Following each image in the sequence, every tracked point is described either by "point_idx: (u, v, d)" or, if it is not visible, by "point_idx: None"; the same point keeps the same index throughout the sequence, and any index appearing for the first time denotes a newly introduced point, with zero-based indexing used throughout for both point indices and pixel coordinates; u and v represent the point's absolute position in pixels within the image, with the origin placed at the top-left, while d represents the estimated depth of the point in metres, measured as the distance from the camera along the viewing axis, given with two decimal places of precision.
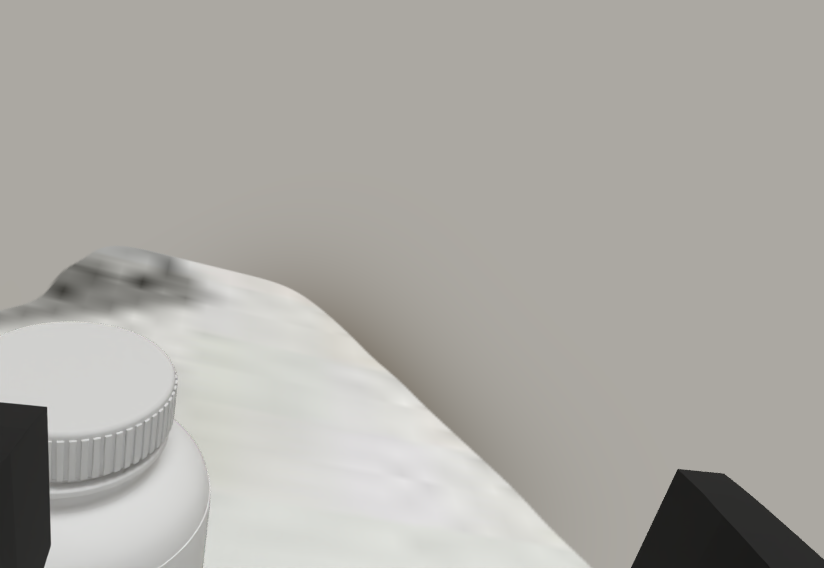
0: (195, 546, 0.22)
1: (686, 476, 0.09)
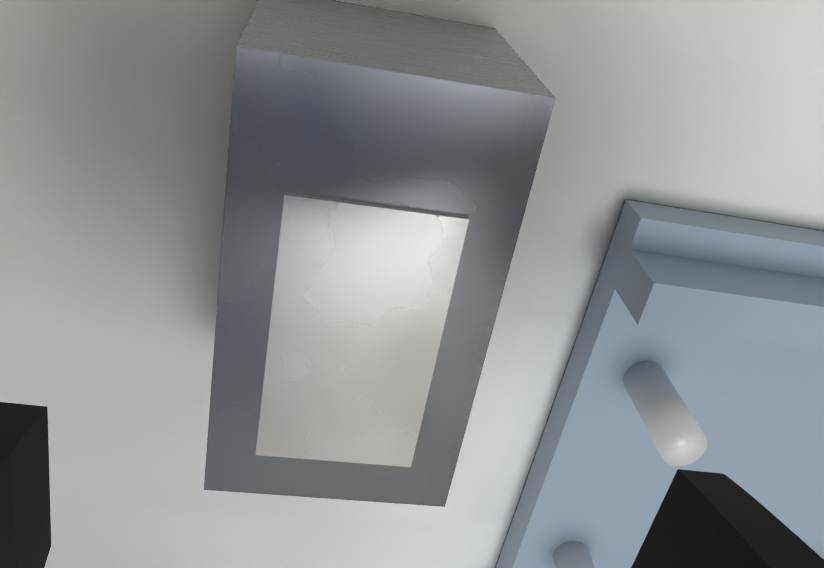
0: None
1: (686, 476, 0.09)
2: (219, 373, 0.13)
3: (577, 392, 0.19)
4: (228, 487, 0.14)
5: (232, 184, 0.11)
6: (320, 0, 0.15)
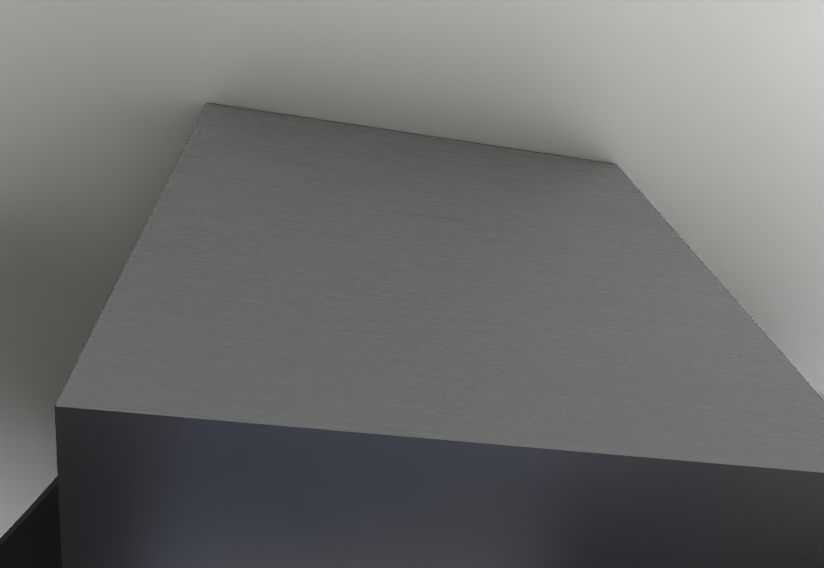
0: None
1: None
2: None
3: None
4: None
5: None
6: (308, 130, 0.08)
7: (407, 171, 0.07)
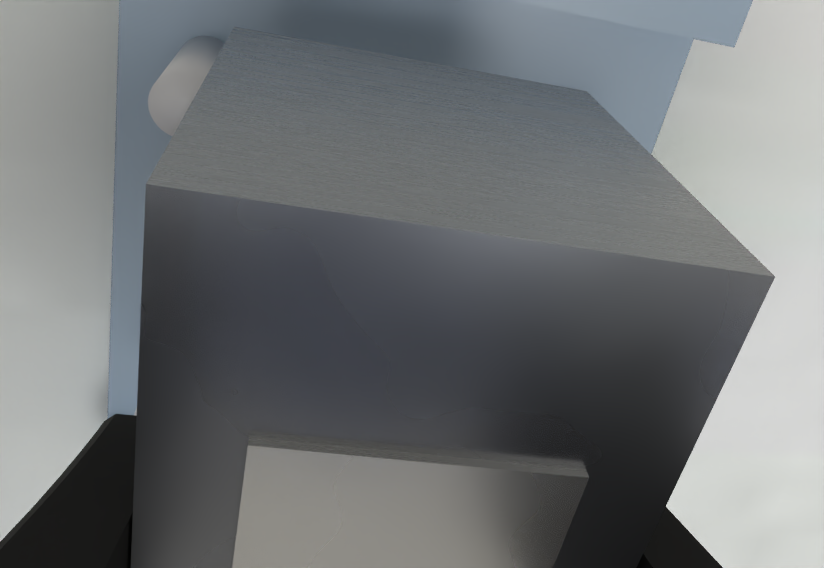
0: None
1: None
2: None
3: (117, 84, 0.14)
4: None
5: (149, 425, 0.06)
6: (321, 49, 0.09)
7: (405, 81, 0.09)
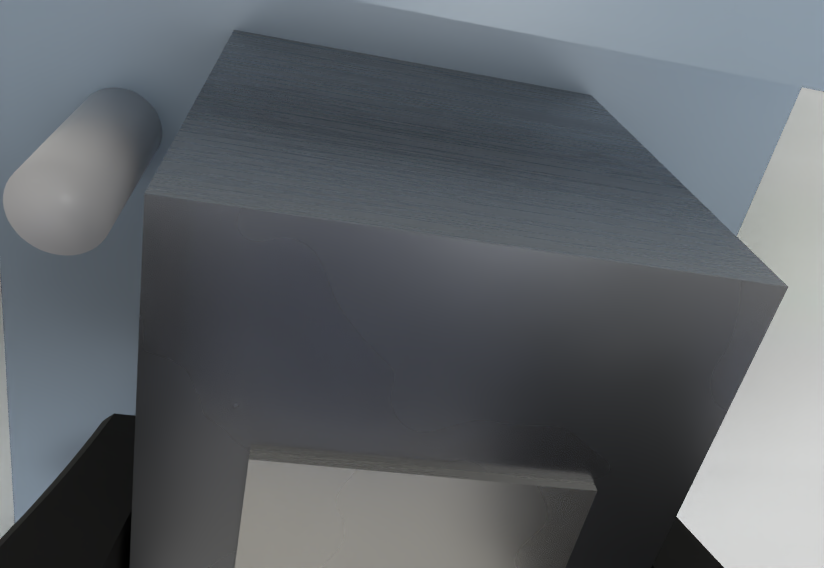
0: None
1: None
2: None
3: None
4: None
5: (147, 439, 0.06)
6: (322, 53, 0.09)
7: (408, 85, 0.09)
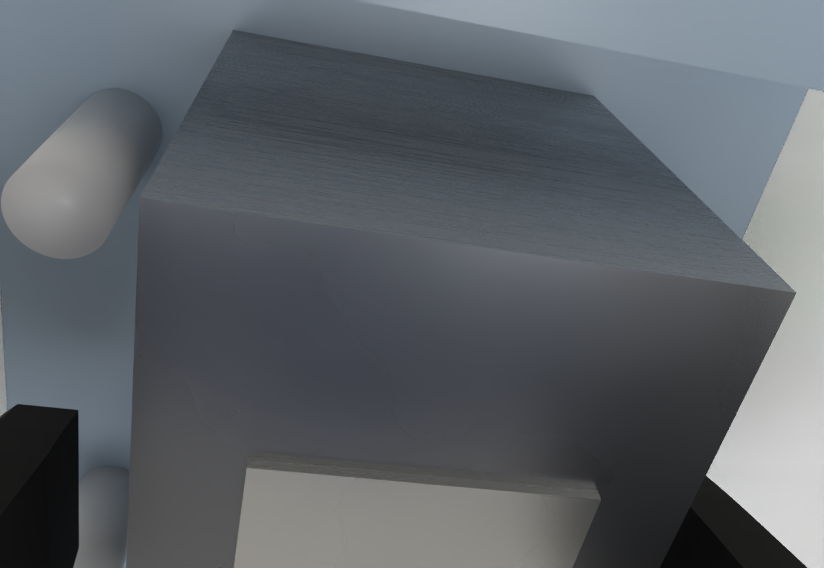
0: None
1: None
2: None
3: None
4: None
5: (143, 447, 0.06)
6: (322, 53, 0.09)
7: (409, 86, 0.08)
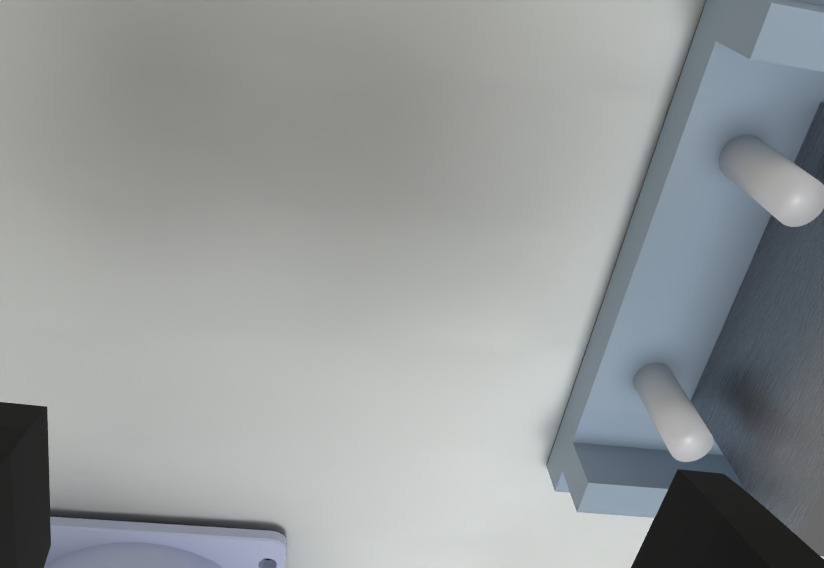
0: None
1: (686, 476, 0.09)
2: None
3: (668, 174, 0.17)
4: None
5: None
6: None
7: None
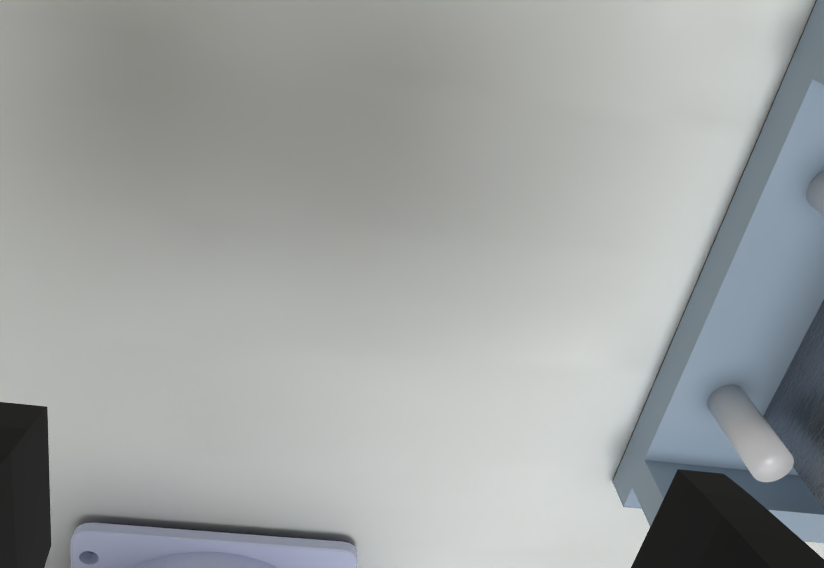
0: None
1: (686, 476, 0.09)
2: None
3: (757, 204, 0.18)
4: None
5: None
6: None
7: None
